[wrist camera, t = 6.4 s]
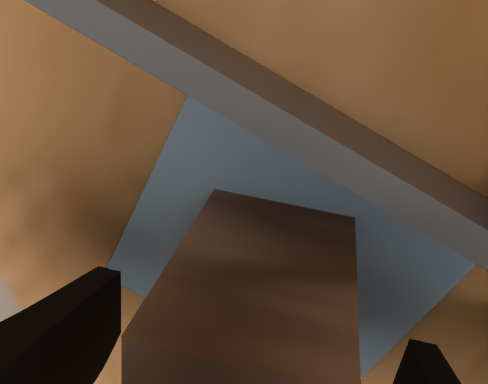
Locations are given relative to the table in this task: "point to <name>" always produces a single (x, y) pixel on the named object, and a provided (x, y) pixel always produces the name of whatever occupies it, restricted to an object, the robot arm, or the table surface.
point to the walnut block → (251, 300)
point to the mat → (290, 192)
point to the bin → (284, 117)
